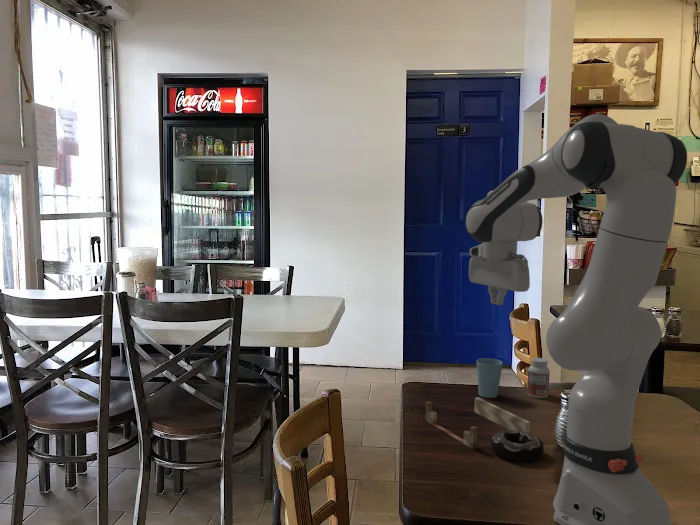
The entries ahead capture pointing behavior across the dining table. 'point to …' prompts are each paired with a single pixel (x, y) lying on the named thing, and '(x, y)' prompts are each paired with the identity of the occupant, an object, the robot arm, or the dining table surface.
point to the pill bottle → (538, 378)
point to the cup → (488, 376)
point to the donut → (517, 446)
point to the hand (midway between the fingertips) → (496, 304)
